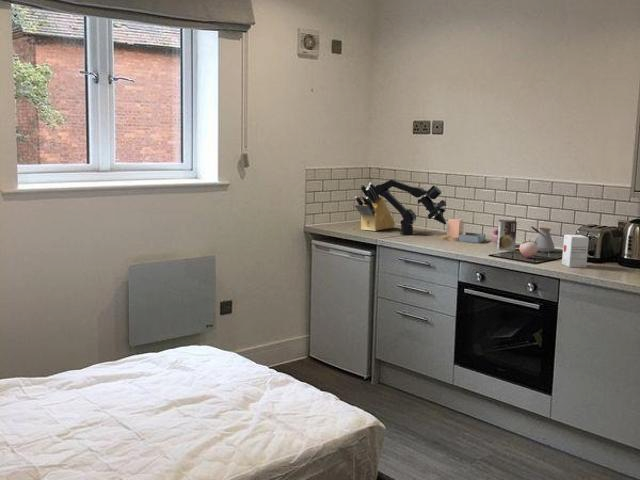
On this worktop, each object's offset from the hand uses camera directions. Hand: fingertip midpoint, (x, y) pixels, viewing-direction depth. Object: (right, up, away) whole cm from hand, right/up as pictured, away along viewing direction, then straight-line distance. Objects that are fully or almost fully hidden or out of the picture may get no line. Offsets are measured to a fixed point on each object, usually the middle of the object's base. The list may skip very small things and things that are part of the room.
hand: (445, 224), depth 431 cm
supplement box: (+49, -23, -79) cm, 96 cm away
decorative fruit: (+32, -19, -61) cm, 72 cm away
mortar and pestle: (+28, -13, -20) cm, 37 cm away
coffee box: (+28, -15, -33) cm, 46 cm away
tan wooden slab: (+4, -9, -1) cm, 10 cm away
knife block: (-41, -3, +30) cm, 51 cm away
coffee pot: (+44, -17, -40) cm, 62 cm away
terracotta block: (+5, -7, -2) cm, 9 cm away
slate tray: (+14, -10, -6) cm, 19 cm away
